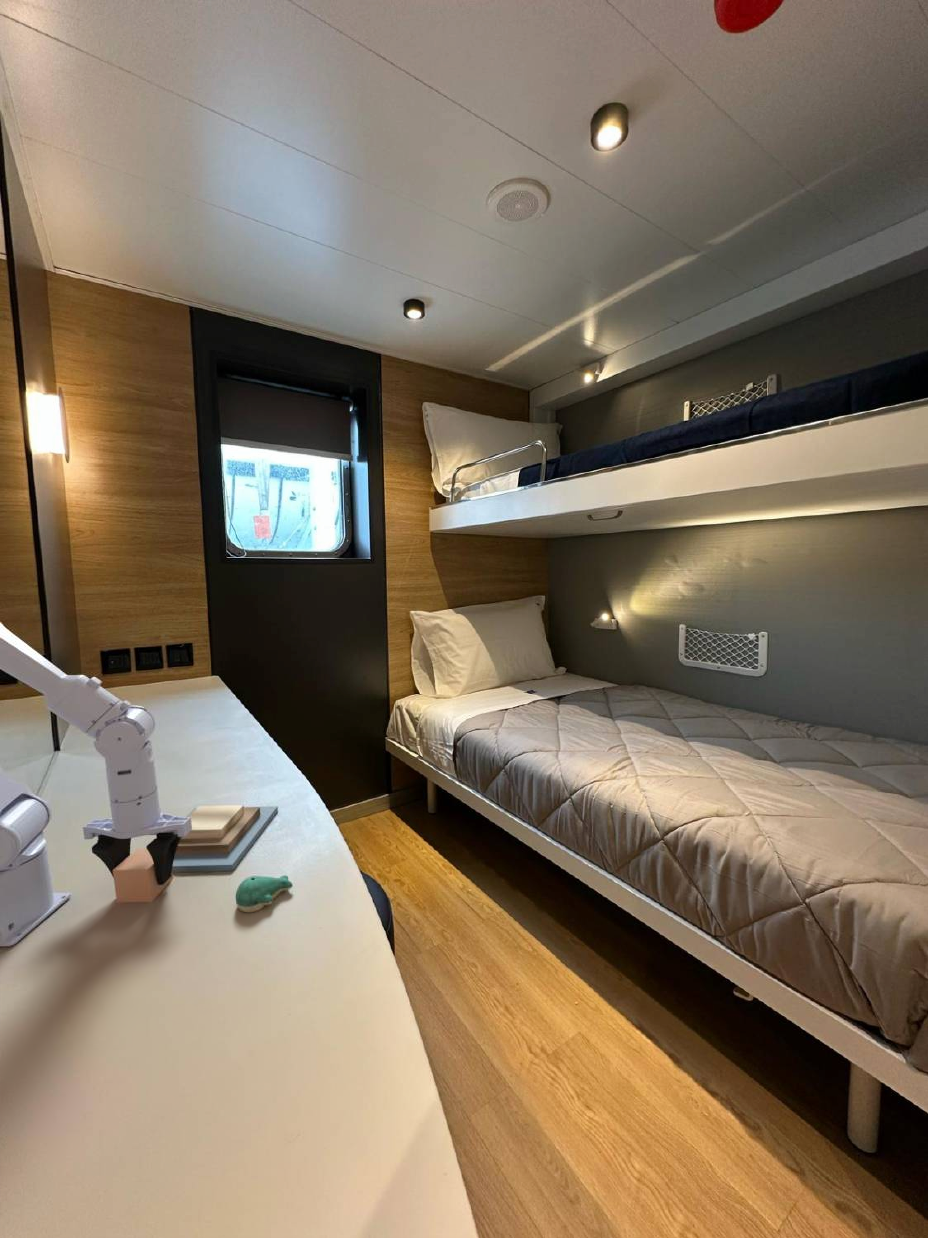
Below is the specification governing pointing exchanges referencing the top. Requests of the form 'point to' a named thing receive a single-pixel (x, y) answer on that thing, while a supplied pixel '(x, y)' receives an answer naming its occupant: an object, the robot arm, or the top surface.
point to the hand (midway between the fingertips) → (144, 881)
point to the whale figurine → (259, 891)
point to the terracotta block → (137, 878)
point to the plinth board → (225, 858)
